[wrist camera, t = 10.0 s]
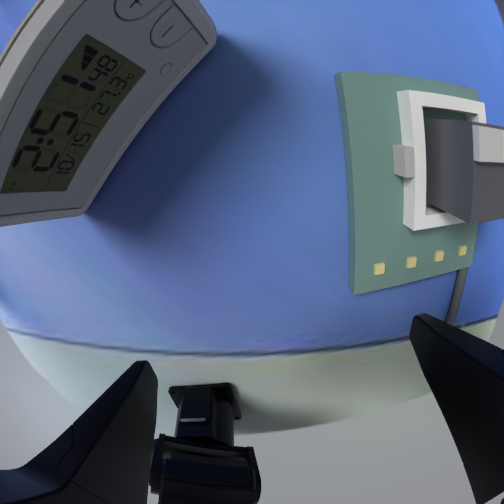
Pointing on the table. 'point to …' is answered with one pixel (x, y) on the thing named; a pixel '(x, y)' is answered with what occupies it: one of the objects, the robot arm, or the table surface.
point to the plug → (465, 169)
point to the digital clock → (86, 94)
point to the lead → (456, 295)
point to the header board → (399, 179)
